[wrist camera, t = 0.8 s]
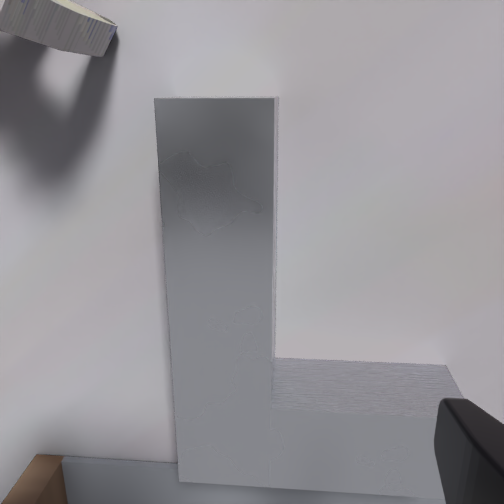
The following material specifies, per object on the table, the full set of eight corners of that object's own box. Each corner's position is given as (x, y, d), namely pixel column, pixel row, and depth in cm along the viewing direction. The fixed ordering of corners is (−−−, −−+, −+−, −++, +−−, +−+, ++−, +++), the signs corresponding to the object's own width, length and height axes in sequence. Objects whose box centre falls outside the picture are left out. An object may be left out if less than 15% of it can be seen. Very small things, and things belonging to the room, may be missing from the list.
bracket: (181, 96, 15) (154, 98, 12) (484, 95, 14) (531, 97, 11) (197, 422, 19) (178, 481, 16) (435, 435, 18) (461, 500, 15)
